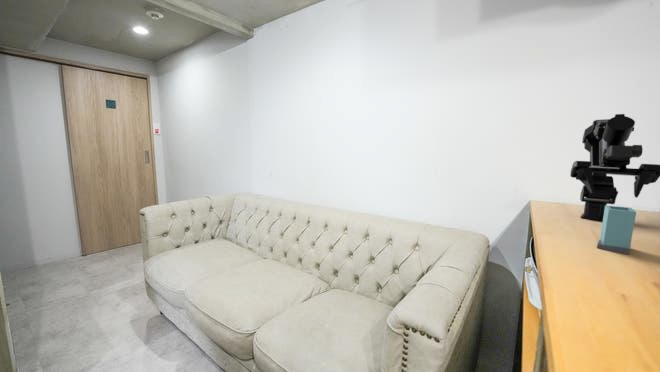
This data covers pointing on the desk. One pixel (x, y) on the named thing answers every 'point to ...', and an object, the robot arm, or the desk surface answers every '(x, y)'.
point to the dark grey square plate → (613, 248)
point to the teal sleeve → (617, 226)
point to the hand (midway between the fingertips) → (613, 194)
